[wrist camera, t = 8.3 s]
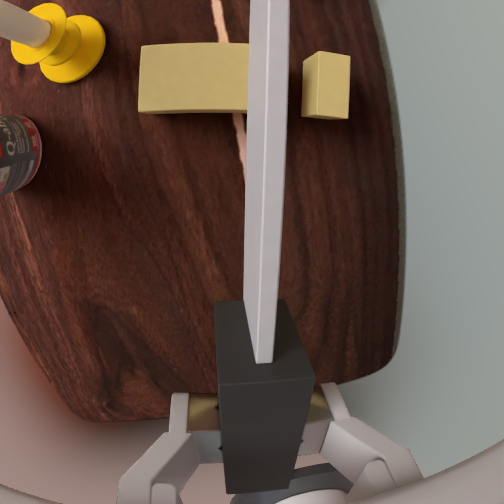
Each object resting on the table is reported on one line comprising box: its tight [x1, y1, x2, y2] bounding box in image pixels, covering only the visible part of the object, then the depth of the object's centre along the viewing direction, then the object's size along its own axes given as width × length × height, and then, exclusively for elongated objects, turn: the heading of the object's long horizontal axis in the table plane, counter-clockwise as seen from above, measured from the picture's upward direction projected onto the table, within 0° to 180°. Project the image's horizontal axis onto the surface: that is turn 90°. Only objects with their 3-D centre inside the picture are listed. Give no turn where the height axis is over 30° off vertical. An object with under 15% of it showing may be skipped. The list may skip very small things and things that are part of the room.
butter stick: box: [138, 43, 249, 114], centre depth 17 cm, size 4×8×4 cm, turn 88°
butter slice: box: [301, 51, 350, 119], centre depth 18 cm, size 4×2×4 cm, turn 178°
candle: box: [0, 0, 105, 83], centre depth 9 cm, size 5×5×16 cm
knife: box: [214, 0, 316, 494], centre depth 8 cm, size 2×15×4 cm, turn 179°
